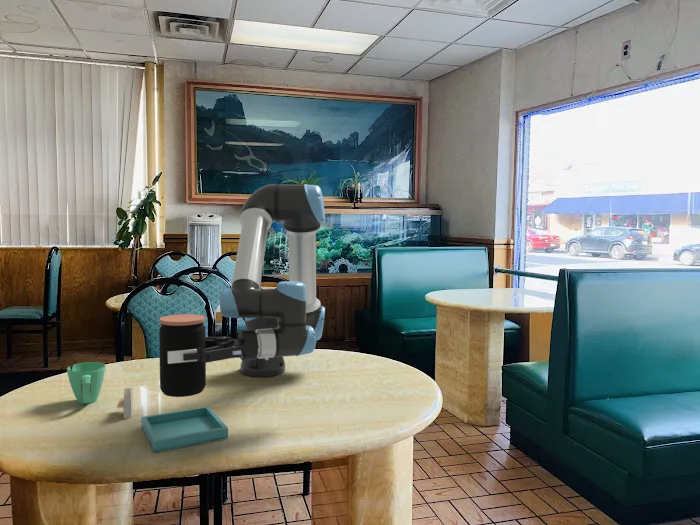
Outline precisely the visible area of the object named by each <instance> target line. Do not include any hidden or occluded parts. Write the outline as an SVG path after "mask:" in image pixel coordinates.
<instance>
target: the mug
mask: <svg viewBox="0 0 700 525" xmlns="http://www.w3.org/2000/svg"><path fill="white" fill-rule="evenodd" d="M66 372H67V377H68V381H69V384H70V387H71V389H72V392H73V395H74V397H75V399H76V401H77V403H78V404H80V405H88V404H93V403H96V402H97V400H98V398H99V395H100V393H101V391H102V390H101V389H102V386H103V383H104V378H105V373H106V364H105V363H103V362H98V361H87V362H79V363H76V364H72V366H71V367H70V366H68V367H67V368H66ZM92 402H93V403H92Z"/></svg>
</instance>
